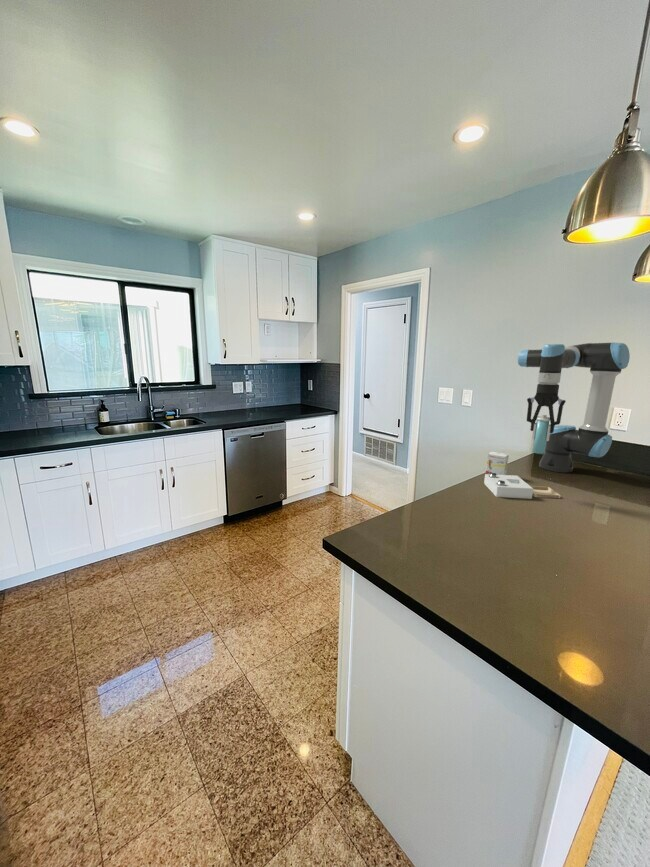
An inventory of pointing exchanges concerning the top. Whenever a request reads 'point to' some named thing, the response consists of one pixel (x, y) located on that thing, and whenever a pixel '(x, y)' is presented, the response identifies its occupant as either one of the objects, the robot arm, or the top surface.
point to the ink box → (497, 463)
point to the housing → (509, 486)
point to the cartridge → (541, 434)
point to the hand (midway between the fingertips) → (540, 439)
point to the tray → (544, 492)
